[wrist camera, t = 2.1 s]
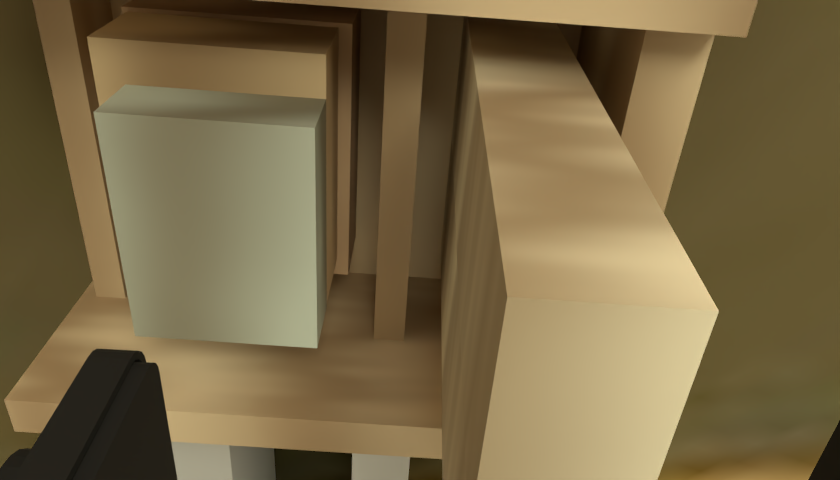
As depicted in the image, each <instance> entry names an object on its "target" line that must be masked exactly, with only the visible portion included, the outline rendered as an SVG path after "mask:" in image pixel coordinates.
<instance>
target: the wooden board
mask: <svg viewBox="0 0 840 480" xmlns="http://www.w3.org/2000/svg"><path fill="white" fill-rule="evenodd" d="M718 312H719V311H718V309H717V307H716V305H715V304H714V302H713V300H712V298H711V296H710V295H709V293H708V291H707V289H706V288H705V286H704V284H703V282H702V280H701V279H700V277H699V275H698V273H697V272H696V270H695V268H694V266H693V265H692V263H691V261H690V259H689V257H688V256H687V254H686V252H685V250H684V249H683V247H682V245H681V243H680V241H679V240H678V238H677V236H676V234H675V233H674V231H673V229H672V227H671V226H670V224H669V222H668V220H667V218H666V217H665V215H664V213H663V211H662V210H661V208H660V206H659V204H658V202H657V201H656V199H655V197H654V195H653V194H652V192H651V190H650V188H649V187H648V185H647V183H646V181H645V179H644V178H643V176H642V174H641V172H640V171H639V169H638V167H637V165H636V163H635V162H634V160H633V158H632V156H631V155H630V153H629V151H628V149H627V147H626V146H625V144H624V142H623V140H622V139H621V137H620V135H619V133H618V132H617V130H616V128H615V126H614V124H613V123H612V121H611V119H610V117H609V116H608V114H607V112H606V110H605V108H604V107H603V105H602V103H601V101H600V100H599V98H598V96H597V94H596V93H595V91H594V89H593V87H592V85H591V84H590V82H589V80H588V78H587V77H586V75H585V73H584V71H583V69H582V68H581V66H580V64H579V62H578V61H577V59H576V57H575V55H574V53H573V52H572V50H571V48H570V46H569V45H568V43H567V41H566V39H565V38H564V36H563V34H562V32H561V30H560V29H559V27H558V25H557V23H549V22H536V21H523V20H509V19H496V18H483V17H470V16H464V20H463V30H462V40H461V50H460V60H459V70H458V80H457V90H456V101H455V111H454V121H453V131H452V141H451V151H450V161H449V171H448V181H447V191H446V201H445V212H444V222H443V232H442V242H441V350H442V480H657V479H658V476H659V473H660V471H661V468H662V465H663V463H664V460H665V457H666V454H667V452H668V449H669V446H670V443H671V441H672V438H673V435H674V432H675V430H676V427H677V424H678V422H679V419H680V416H681V413H682V411H683V408H684V405H685V402H686V400H687V397H688V394H689V391H690V389H691V386H692V383H693V381H694V378H695V375H696V372H697V370H698V367H699V364H700V361H701V359H702V356H703V353H704V351H705V348H706V345H707V342H708V340H709V337H710V334H711V331H712V329H713V326H714V323H715V320H716V318H717V315H718Z"/></svg>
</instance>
